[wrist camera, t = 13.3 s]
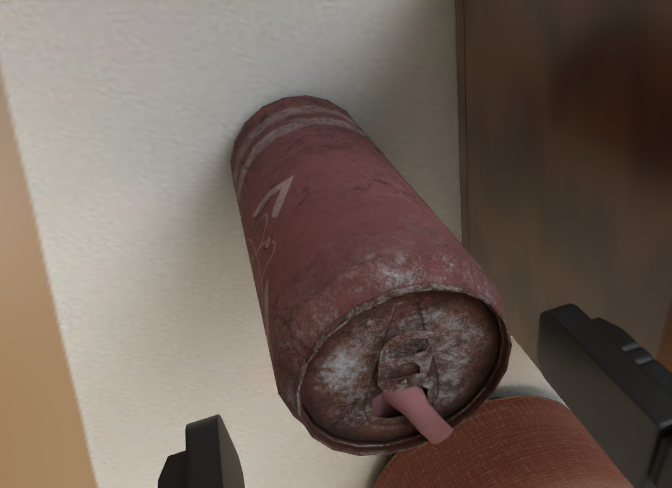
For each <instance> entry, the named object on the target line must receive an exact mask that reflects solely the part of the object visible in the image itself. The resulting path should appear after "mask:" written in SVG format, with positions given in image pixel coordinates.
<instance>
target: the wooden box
mask: <svg viewBox="0 0 672 488" xmlns="http://www.w3.org/2000/svg"><path fill="white" fill-rule="evenodd" d="M456 34H457V70H458V105H459V140H460V176H461V211H462V246H463V247H464V248H465V249H466V250H467V251H468V252H469V254H470V255H471V256H472V257H473V258H474V259H475V261H476V262H477V263H478V264H479V265H480V266H481V267H482V269H483V270H484V271H485V272H486V274H487V275H488V276H489V277H490V279H491V280H492V281H493V282H494V284H495V285H496V286H497V288H498V289H499V290H500V291H501V295H502V300H503V304H504V309H505V314H506V321H507V324H508V328H509V333H510V334H511V335H512V336H513V338H514V339H515V340H516V341H517V343H518V344H519V345H520V346H521V348H522V349H523V350H524V351H525V353H526V354H527V355H528V356H529V358H530V359H531V360H532V361H533V363H534V364H535V365H536V366H537V368H538V369H539V370H540V368H539V366H538V362H537V357H536V352H537V339H538V326H539V316H540V314H541V313H542V312H544V311H547V310H550V309H553V308H556V307H559V306H562V305H566V304H569V303H572V304H575V305H576V306H578V307H579V308H580V309H581V310H582V311H583V312H584V313H585V314H586V315H587V316H588V317H589V318H590V319H595V318H598V317H600V318H602V319H604V320H606V321H608V322H610V323H612V324H614V325H616V326H618V327H620V328H622V329H623V330H624V331H625V332H627V333H628V334H629V335H630V336H631V337H632V338H633V339H634V340H635V341H636V342H638V343H639V346H640V347H643V348H644V349H645V350H646V351H647V352H649V353H650V354H651V355H652V356H653V359H654V360H657V361H659V362H660V363H661V364H662V365H663V366H664V367H665V368H666V369H667V370H668V371H670V372H671V373H672V0H456Z"/></svg>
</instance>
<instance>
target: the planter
mask: <svg viewBox="0 0 672 488" xmlns="http://www.w3.org/2000/svg"><path fill="white" fill-rule="evenodd" d="M374 488H633V487H632V486H631V484H630V483H629V482H628V481H627V479H626V478H625V477H624V475H623V474H622V473H621V472H620V470H619V469H618V468H617V467H616V465H615V464H614V463H613V462H612V461H611V459H610V458H609V457H608V456H607V454H606V453H605V452H604V451H603V449H602V448H601V447H600V446H599V445H598V443H597V442H596V441H595V440H594V438H593V437H592V436H591V435H590V433H589V432H588V431H587V430H586V428H585V427H584V426H583V425H582V424H581V422H580V421H579V420H578V419H577V417H576V416H575V415H574V414H573V413H572V412H571V411H570V410H569V409H568V408H567V407H565V406H564V405H562V404H561V403H559V402H557V401H554V400H551V399H548V398H543V397H537V396H509V397H500V398H494V399H490V400H487V401H486V402H485V403H484V404H483V405H482V406H481V407H480V408H479V410H478V411H477V412H476V413H475V414H474V415H473V416H472V417H470V418H469V419H467V420H466V421H465V422H463V423H462V424H460V425H459V426H457V427H456V428H455V429H453V432H452V433H451V435H450V436H449V437H447V438H446V439H445V440H443V441H442V442H440V443H437V444H432V443H431V442H428V443H426V444H424V445H422V446H420V447H417V448H413V449H409V450H405V451H401V452H397V453H396V454H395V455H394V456H393V457H392V459H391V460H390V461H389V462H388V464H387V465H386V466H385V468H384V469H383V471H382V472H381V474H380V475H379V477H378V479H377V481H376V483H375V485H374Z"/></svg>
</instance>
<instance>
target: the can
mask: <svg viewBox="0 0 672 488" xmlns="http://www.w3.org/2000/svg"><path fill="white" fill-rule="evenodd" d="M230 163H231V170H232V177H233V183H234V188H235V192H236V197H237V202H238V206H239V211H240V216H241V221H242V225H243V230H244V235H245V239H246V244H247V249H248V253H249V258H250V263H251V267H252V272H253V277H254V281H255V286H256V291H257V296H258V300H259V305H260V310H261V314H262V319H263V324H264V328H265V333H266V338H267V342H268V347H269V352H270V356H271V361H272V366H273V371H274V375H275V380H276V385H277V389H278V394H279V395H280V397H281V398H282V400H283V401H284V403H285V404H286V406H287V407H288V409H289V410H290V412H291V413H292V415H293V416H294V417H295V418H296V419H298V420H299V421H300V422H301V423H302V424H303V425H304V426H305V427H306V429H307V430H308V432H309V433H310V435H311V436H312V437H313V438H314V439H316V440H317V441H319V442H321V443H322V444H324V445H326V446H327V447H329V448H330V449H332V450H335V451H340V452H344V453H349V454H353V455H358V456H367V455H389V454H393V453H397V452H401V451H405V450H409V449H413V448H417V447H420V446H422V445H424V444H426V443H428V442H431V443H432V444H437V443H440V442H442V441H443V440H445V439H446V438H447V437H449V436H450V435H451V433H452V432H453V429H455V428H456V427H457V426H459V425H460V424H462V423H463V422H465V421H466V420H467V419H469V418H470V417H472V416H473V415H474V414H475V413H476V412H477V411H478V410H479V408H480V407H481V406H482V405H483V404H484V403H485V402H486V401H487V400H488V399H489V398H490V397H491V396H492V395H493V393H494V392H495V390H496V388H497V386H498V385H499V383H500V381H501V379H502V377H503V376H504V374H505V372H506V370H507V367H508V362H509V357H510V352H511V347H512V343H511V338H510V333H509V328H508V324H507V321H506V314H505V309H504V304H503V300H502V295H501V291H500V290H499V289H498V288H497V286H496V285H495V284H494V282H493V281H492V280H491V279H490V277H489V276H488V275H487V274H486V272H485V271H484V270H483V269H482V267H481V266H480V265H479V264H478V263H477V262H476V261H475V259H474V258H473V257H472V256H471V255H470V254H469V252H468V251H467V250H466V249H465V248H464V247H463V246H462V244H461V243H460V242H459V241H458V240H457V239H456V238H455V236H454V235H453V234H452V233H451V232H450V231H449V229H448V228H447V227H446V226H445V225H444V224H443V223H442V221H441V220H440V219H439V218H438V217H437V216H436V214H435V213H434V212H433V211H432V210H431V209H430V208H429V206H428V205H427V204H426V203H425V202H424V201H423V200H422V198H421V197H420V196H419V195H418V194H417V193H416V191H415V190H414V189H413V188H412V187H411V186H410V185H409V183H408V182H407V181H406V180H405V179H404V178H403V177H402V175H401V174H400V173H399V172H398V171H397V170H396V168H395V167H394V166H393V165H392V164H391V163H390V162H389V160H388V159H387V158H386V157H385V156H384V155H383V153H382V152H381V151H380V150H379V149H378V148H377V147H376V145H375V144H374V143H373V142H372V141H371V140H370V139H369V137H368V136H367V135H366V134H365V133H364V132H363V130H362V129H361V128H360V127H359V126H358V125H357V124H356V122H355V121H354V120H353V119H352V118H351V117H350V115H349V114H348V113H347V112H346V111H345V110H343V109H341V108H340V107H338V106H337V105H335V104H333V103H332V102H330V101H328V100H325V99H321V98H316V97H312V96H307V95H305V96H295V97H286V98H282V99H280V100H278V101H275V102H273V103H271V104H269V105H266V106H264V107H262V108H261V109H260V110H259V111H258V112H257V113H256V114H254V115H253V116H252V117H251V118H250V119H249V120H248V121H247V122H245V124H244V126H243V128H242V129H241V131H240V133H239V135H238V136H237V138H236V140H235V142H234V147H233V152H232V157H231V162H230Z"/></svg>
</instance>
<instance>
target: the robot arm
mask: <svg viewBox="0 0 672 488" xmlns="http://www.w3.org/2000/svg"><path fill="white" fill-rule="evenodd" d="M536 357H537V362H538V366H539V368H540V371H541V373H542V374H543V376H544V378H545V379H546V380H547V382H548V383H549V384H550V385H551V387H552V388H553V389H554V390H555V392H556V393H557V394H558V395H559V396H560V398H561V399H562V400H563V401H564V403H565V404H566V405H567V406H568V408H569V409H570V410H571V411H572V412H573V414H574V415H575V416H576V417H577V419H578V420H579V421H580V422H581V424H582V425H583V426H584V427H585V428H586V430H587V431H588V432H589V433H590V435H591V436H592V437H593V438H594V440H595V441H596V442H597V443H598V445H599V446H600V447H601V448H602V449H603V451H604V452H605V453H606V454H607V456H608V457H609V458H610V459H611V461H612V462H613V463H614V464H615V465H616V467H617V468H618V469H619V470H620V472H621V473H622V474H623V475H624V477H625V478H626V479H627V480H628V482H629V483H630V484H631V485H632V486H633V488H672V373H671V372H670V371H668V370H667V369H666V368H665V367H664V366H663V365H662V364H661V363H660V362H659V361H657V360H654V359H653V356H652V355H651V354H650V353H649V352H647V351H646V350H645V349H644V348H643V347H640V346H639V343H638V342H636V341H635V340H634V339H633V338H632V337H631V336H630V335H629V334H628V333H627V332H625V331H624V330H623V329H622V328H620V327H618V326H616V325H614V324H612V323H610V322H608V321H606V320H604V319H602V318H600V317H598V318H595V319H590V318H589V317H588V316H587V315H586V314H585V313H584V312H583V311H582V310H581V309H580V308H579V307H578V306H576V305H575V304H572V303H569V304H566V305H562V306H559V307H556V308H553V309H550V310H547V311H544V312H542V313H541V314H540V316H539V326H538V339H537V352H536ZM185 435H186V451H183V452H180V453H177V454H174V455H170V456H168V458H167V460H166V463H165V465H164V467H163V470H162V472H161V474H160V477H159V479H158V488H245V485H244V477H243V472H242V467H241V463H240V460H239V457H238V454H237V451H236V449H235V447H234V445H233V442H232V440H231V438H230V436H229V433H228V431H227V429H226V427H225V424H224V422H223V420H222V418H221V416H220V415H219V414H218V415H215V416H211V417H208V418H205V419H202V420H199V421H196V422H193V423H190V424H187V425H186V430H185Z"/></svg>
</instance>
